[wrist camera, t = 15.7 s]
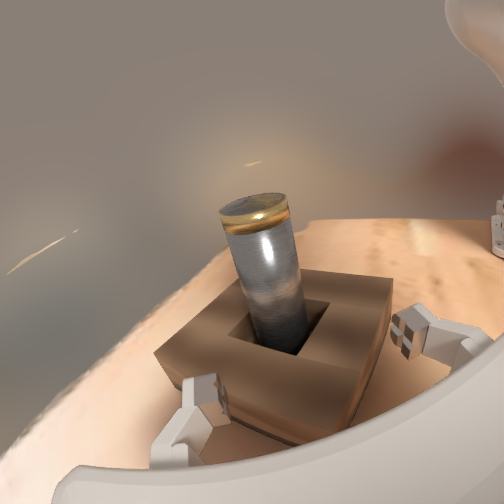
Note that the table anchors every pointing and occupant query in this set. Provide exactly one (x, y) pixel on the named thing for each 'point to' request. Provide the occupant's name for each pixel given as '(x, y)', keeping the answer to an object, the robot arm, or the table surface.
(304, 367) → the post block
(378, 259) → the table surface
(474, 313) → the table surface
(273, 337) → the steel rod
